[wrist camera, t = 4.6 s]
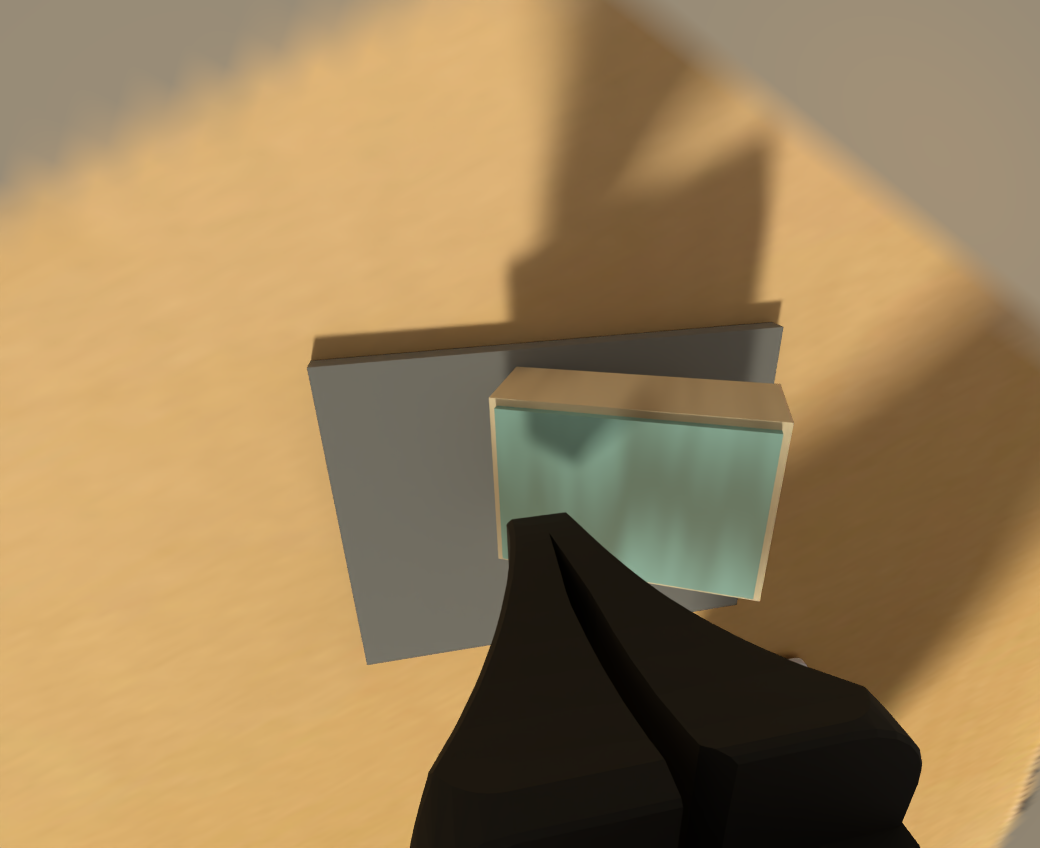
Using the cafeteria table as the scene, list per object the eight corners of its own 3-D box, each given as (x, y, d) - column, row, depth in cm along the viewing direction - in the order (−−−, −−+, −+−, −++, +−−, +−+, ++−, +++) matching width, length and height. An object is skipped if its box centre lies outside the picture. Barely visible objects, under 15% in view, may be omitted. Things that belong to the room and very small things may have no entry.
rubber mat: (728, 593, 22) (736, 604, 22) (368, 651, 20) (367, 665, 20) (771, 322, 18) (783, 326, 17) (310, 360, 16) (307, 367, 15)
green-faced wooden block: (522, 512, 18) (752, 544, 16) (496, 562, 16) (760, 606, 14) (516, 366, 16) (780, 383, 14) (486, 400, 14) (795, 426, 12)
